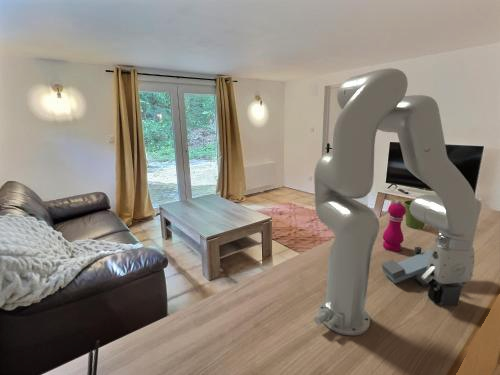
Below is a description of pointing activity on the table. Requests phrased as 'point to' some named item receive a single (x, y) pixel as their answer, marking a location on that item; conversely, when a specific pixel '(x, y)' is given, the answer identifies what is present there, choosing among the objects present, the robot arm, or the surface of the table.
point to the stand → (418, 276)
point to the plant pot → (411, 217)
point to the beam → (407, 267)
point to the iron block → (449, 294)
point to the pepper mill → (394, 227)
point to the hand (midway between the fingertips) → (442, 298)
